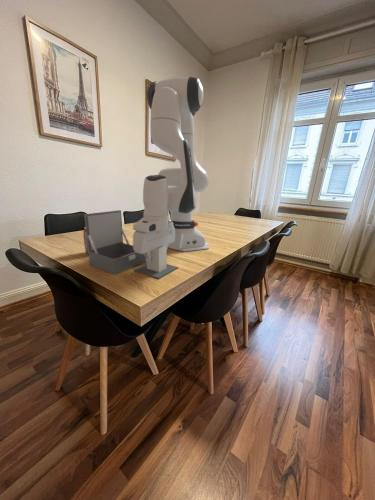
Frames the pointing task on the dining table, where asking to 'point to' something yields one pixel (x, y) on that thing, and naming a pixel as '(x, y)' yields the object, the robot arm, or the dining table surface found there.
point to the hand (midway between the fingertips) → (156, 258)
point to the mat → (154, 273)
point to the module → (158, 259)
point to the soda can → (85, 240)
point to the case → (109, 243)
